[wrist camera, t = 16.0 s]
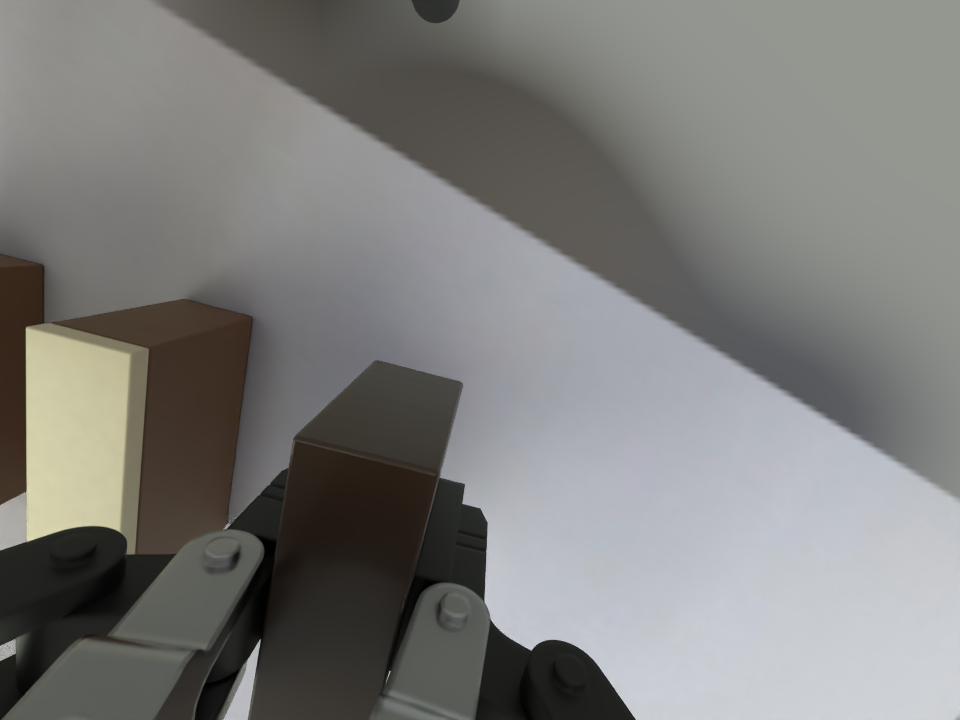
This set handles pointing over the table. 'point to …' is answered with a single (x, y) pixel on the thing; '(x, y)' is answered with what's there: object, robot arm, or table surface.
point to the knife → (351, 543)
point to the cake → (15, 366)
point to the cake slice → (135, 422)
